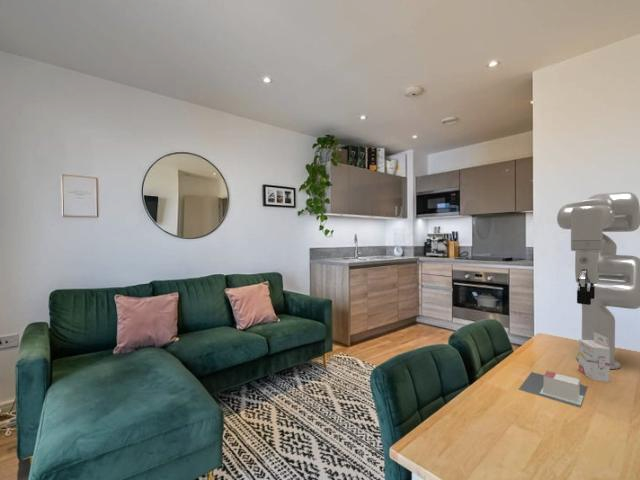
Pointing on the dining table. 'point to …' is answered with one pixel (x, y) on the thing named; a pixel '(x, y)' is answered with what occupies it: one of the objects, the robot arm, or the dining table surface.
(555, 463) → the dining table surface
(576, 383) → the card deck case
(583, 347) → the ink cartridge box
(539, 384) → the mat
